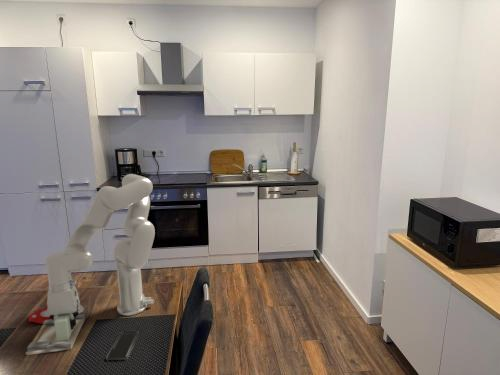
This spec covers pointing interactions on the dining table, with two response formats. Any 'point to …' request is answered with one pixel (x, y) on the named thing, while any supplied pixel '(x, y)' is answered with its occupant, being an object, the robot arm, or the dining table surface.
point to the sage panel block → (63, 327)
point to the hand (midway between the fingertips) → (66, 327)
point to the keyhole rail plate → (53, 338)
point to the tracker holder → (39, 316)
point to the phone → (122, 346)
